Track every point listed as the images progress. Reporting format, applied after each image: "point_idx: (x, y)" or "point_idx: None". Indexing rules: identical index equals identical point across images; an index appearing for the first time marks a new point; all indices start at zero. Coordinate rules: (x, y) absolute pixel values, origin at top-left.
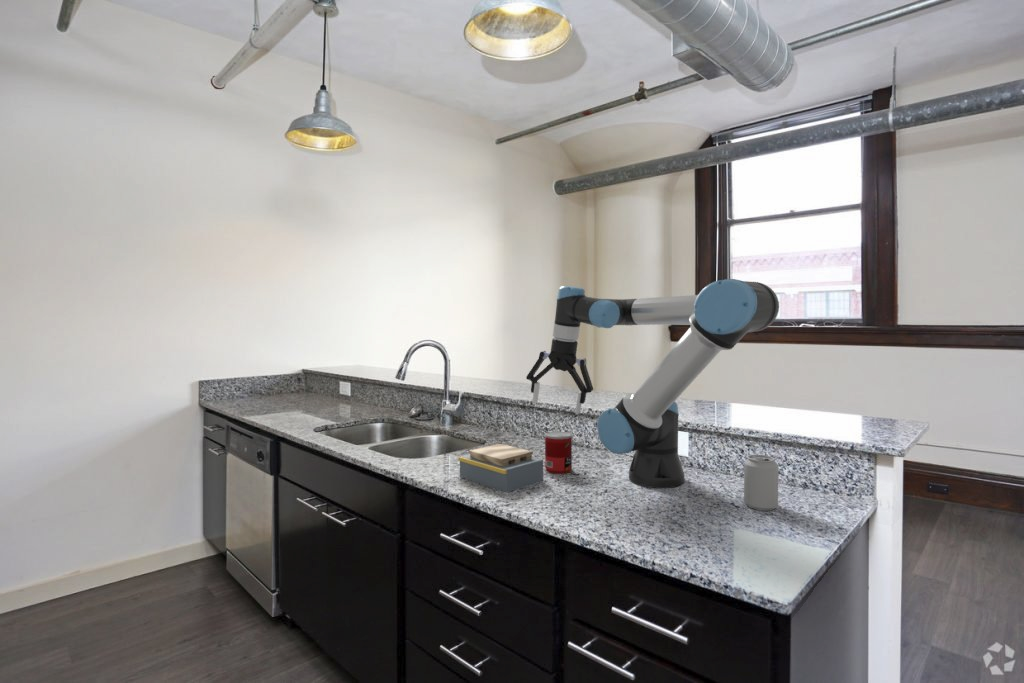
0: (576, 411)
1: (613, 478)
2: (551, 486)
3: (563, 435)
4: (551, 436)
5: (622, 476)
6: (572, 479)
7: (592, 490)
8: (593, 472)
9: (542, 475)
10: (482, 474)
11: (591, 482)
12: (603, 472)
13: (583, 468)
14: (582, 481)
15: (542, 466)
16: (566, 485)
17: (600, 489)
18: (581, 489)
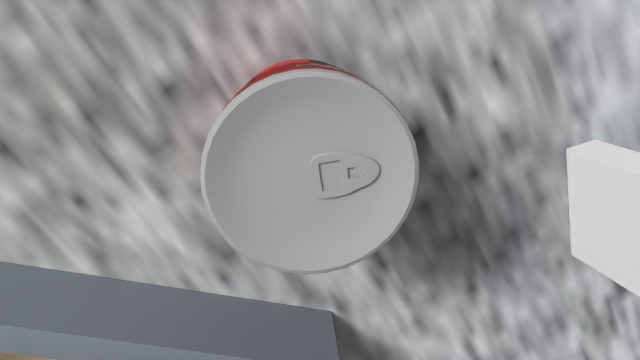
0: (608, 268)
1: (599, 98)
2: (399, 349)
3: (353, 164)
4: (305, 271)
5: (631, 40)
6: (433, 220)
7: (568, 301)
8: (476, 57)
9: (332, 328)
10: None
11: (527, 212)
12: (522, 27)
13: (398, 15)
14: (486, 221)
15: (336, 353)
16: (448, 306)
17: (593, 273)
18: (524, 315)
